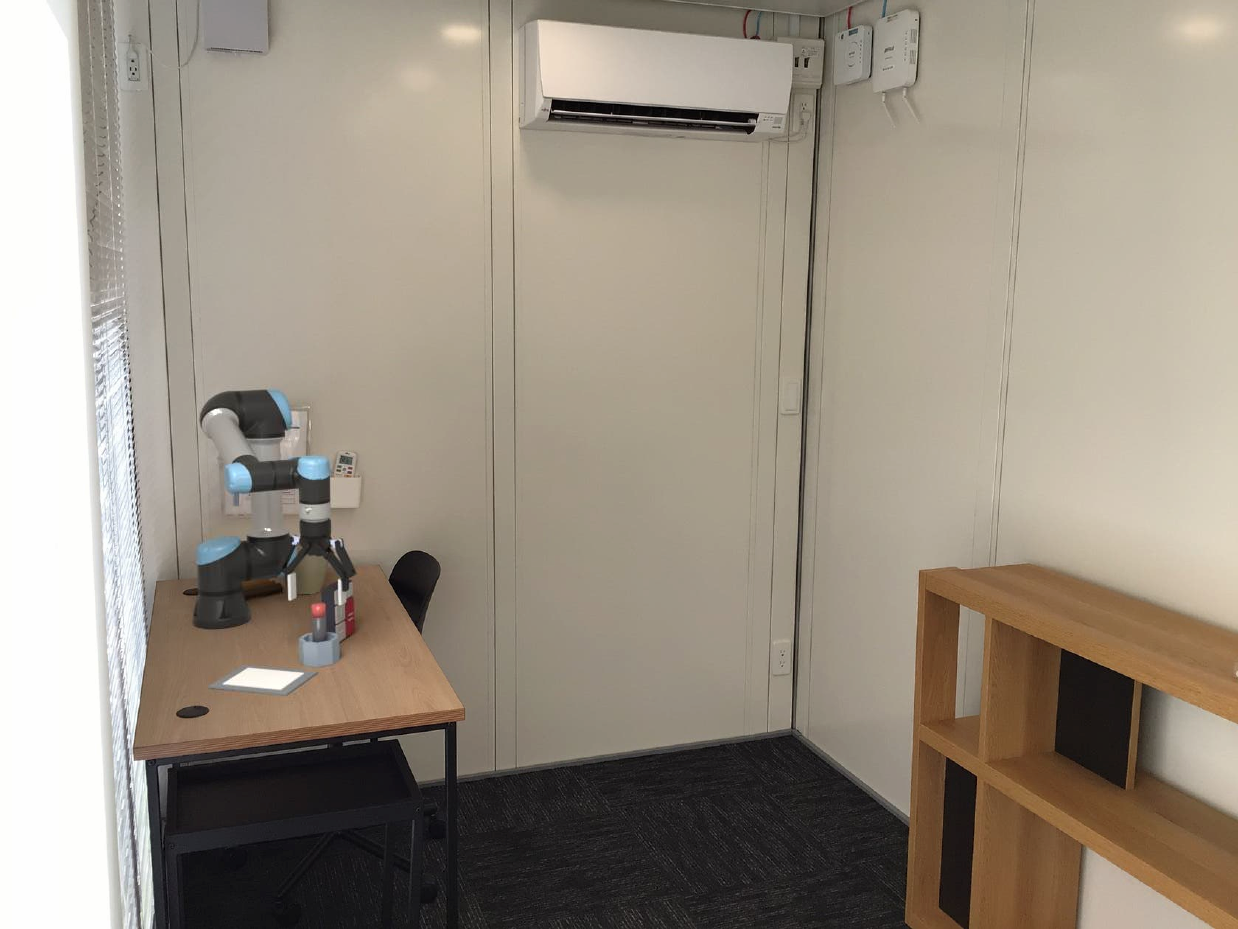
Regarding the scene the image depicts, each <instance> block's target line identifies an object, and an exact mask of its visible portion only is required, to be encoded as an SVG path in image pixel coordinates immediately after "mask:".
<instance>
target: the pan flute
mask: <svg viewBox="0 0 1238 929" xmlns="http://www.w3.org/2000/svg"><path fill="white" fill-rule="evenodd" d="M283 591H284V586H283V585H282V584H281V582H276V581H275V580H271V579H263V580H255V581H247V582H242V592H243V595H244V598H245V600H246V601H248V600H252V599H257V598H256V597H258V598H261V597H266V595H267V596H271V594H272V595H276V594H280V592H281V593H283ZM251 598H252V599H251Z"/></svg>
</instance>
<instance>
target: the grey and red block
mask: <svg viewBox="0 0 1238 929" xmlns="http://www.w3.org/2000/svg"><path fill="white" fill-rule="evenodd" d="M320 592H321V595H320V596H321V603H325V605H326V632H333V633H335V634H336V635H338V636H339V643H340V642H342V641H343V640H344V639H346V638H348V637H349V636H350V635H352V634H354V632H355V629H356V628H355V599H354V598H355V597H354V596H353V594H354V582H353V580H352V579H349V590H348V591H346V603H344V604H343V605H339V603H338V580H336V581H334V582H332V583H331V584H329V585H327V586H325V587H324V588H321V590H320Z"/></svg>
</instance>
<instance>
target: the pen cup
mask: <svg viewBox="0 0 1238 929" xmlns="http://www.w3.org/2000/svg"><path fill="white" fill-rule="evenodd" d="M326 637H327V641H324V642H318V643H317V642H313V639H312V632H308V633H305V634H304V635H302V636H300V637H299V638H298V650H299V651H298V653H299V657H298V658H299V662H300V663H301V664H302V665H303V666H305V667H312V668H313V667H314V668H320V667H325V666H330V665H331V666H332V665H334V664H335V663H337V662H338V661H340V660H341V659H340V656H341V655H340V642H339V636H338V635H336V634H335V633H333V632H326Z"/></svg>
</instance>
